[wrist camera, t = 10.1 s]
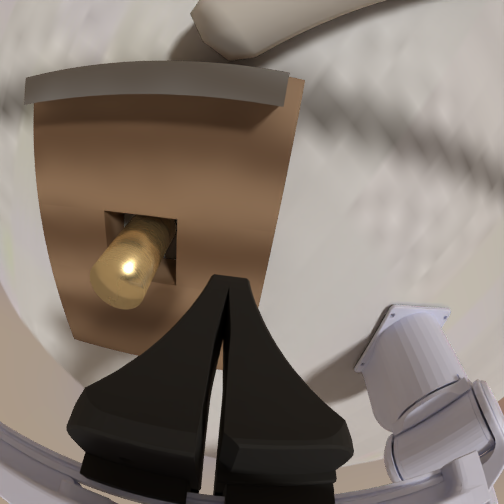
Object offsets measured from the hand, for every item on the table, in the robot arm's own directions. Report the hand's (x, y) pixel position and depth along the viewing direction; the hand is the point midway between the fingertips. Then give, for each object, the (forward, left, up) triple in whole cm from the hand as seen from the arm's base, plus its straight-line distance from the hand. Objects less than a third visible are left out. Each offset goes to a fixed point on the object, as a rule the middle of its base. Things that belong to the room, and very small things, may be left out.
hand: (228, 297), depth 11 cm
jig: (-2, +6, -9) cm, 11 cm away
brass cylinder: (-2, +6, -9) cm, 11 cm away
